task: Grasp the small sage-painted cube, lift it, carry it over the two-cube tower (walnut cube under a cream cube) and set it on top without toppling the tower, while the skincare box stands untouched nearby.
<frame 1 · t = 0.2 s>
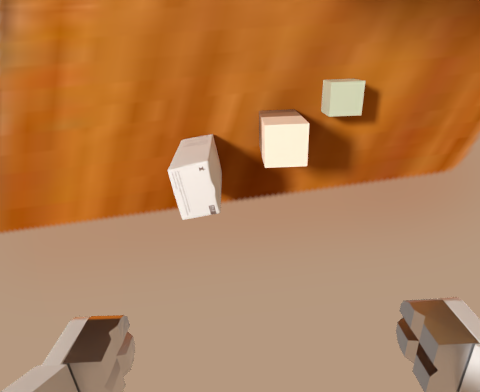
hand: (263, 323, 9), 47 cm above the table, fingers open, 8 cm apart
block small: (337, 95, 52), on the table
skincare box: (203, 158, 57), on the table
block bottom: (276, 128, 54), on the table, touching block top
block top: (281, 136, 49), point 6 cm above the table, touching block bottom
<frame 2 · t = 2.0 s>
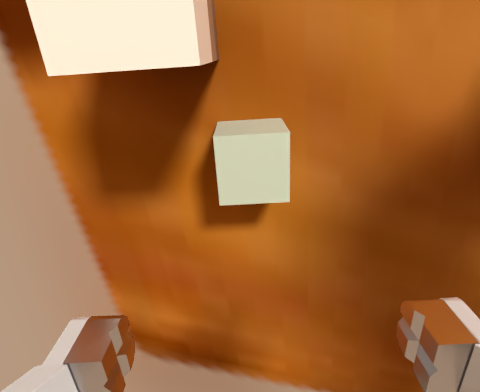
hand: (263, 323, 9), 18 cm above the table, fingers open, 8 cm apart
block small: (250, 150, 26), on the table
block bottom: (172, 15, 22), on the table, touching block top
block top: (149, 3, 17), point 6 cm above the table, touching block bottom
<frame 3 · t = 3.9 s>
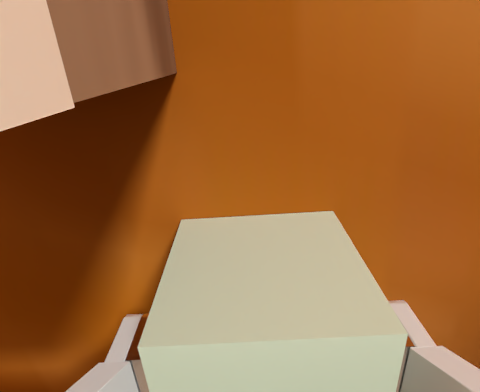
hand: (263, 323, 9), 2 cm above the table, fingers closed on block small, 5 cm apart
block small: (259, 276, 11), on the table, touching gripper
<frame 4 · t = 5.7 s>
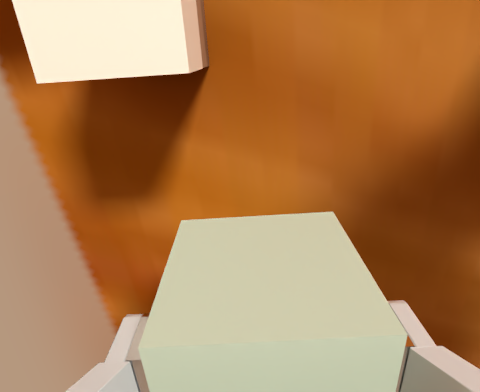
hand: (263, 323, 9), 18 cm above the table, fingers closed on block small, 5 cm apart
block small: (259, 277, 11), point 16 cm above the table, touching gripper
block bottom: (162, 22, 22), on the table, touching block top
block top: (139, 11, 17), point 6 cm above the table, touching block bottom
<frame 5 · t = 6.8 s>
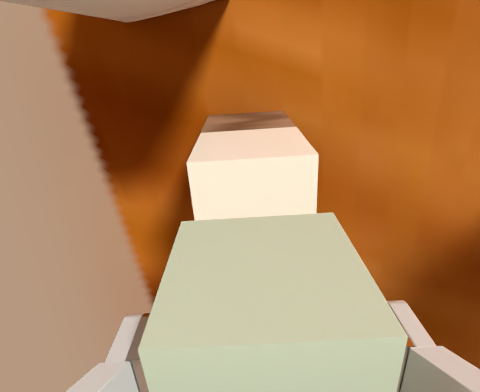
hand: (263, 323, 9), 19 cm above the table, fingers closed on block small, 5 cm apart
block small: (259, 278, 11), point 17 cm above the table, touching gripper
block bottom: (247, 149, 27), on the table, touching block top
block top: (250, 174, 21), point 6 cm above the table, touching block bottom
when the fingers open (16 cm above the table, at t = 7.8 s): block small drops 1 cm, resting on block top.
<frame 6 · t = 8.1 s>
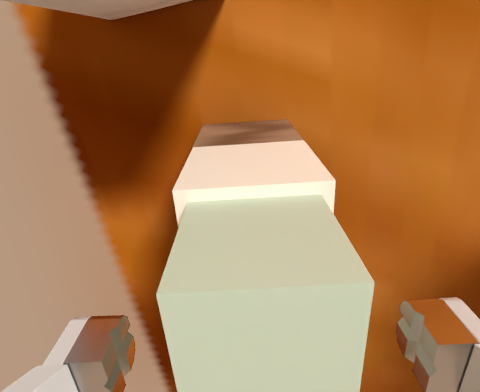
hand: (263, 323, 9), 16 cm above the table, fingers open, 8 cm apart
block small: (256, 254, 13), point 12 cm above the table, touching block top
block bottom: (247, 162, 24), on the table, touching block top
block top: (251, 194, 18), point 6 cm above the table, touching block bottom, block small
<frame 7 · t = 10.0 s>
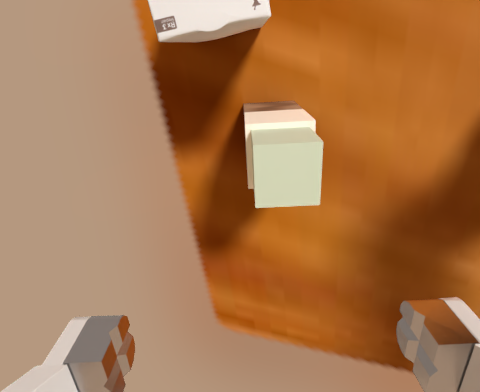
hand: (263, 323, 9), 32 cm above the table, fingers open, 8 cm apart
block small: (280, 156, 28), point 12 cm above the table, touching block top
skincare box: (220, 8, 34), on the table
block bottom: (269, 127, 39), on the table, touching block top
block top: (273, 139, 34), point 6 cm above the table, touching block bottom, block small
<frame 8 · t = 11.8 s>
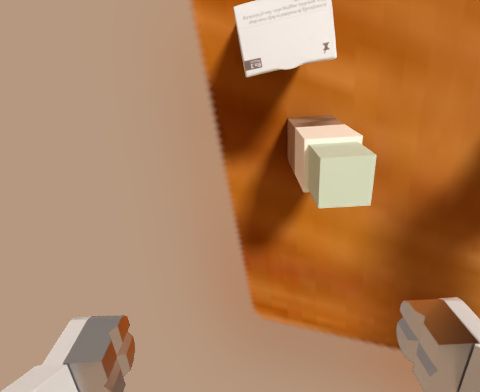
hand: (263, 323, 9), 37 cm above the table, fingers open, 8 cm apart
block small: (331, 165, 34), point 12 cm above the table, touching block top
skincare box: (271, 39, 40), on the table
block bottom: (308, 138, 45), on the table, touching block top
block top: (318, 149, 39), point 6 cm above the table, touching block bottom, block small
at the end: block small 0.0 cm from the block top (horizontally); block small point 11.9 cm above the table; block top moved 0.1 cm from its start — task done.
